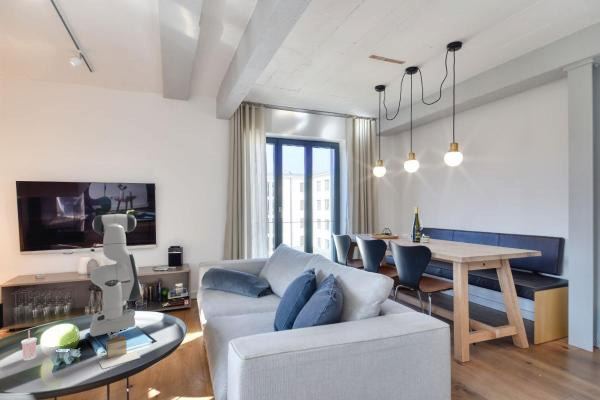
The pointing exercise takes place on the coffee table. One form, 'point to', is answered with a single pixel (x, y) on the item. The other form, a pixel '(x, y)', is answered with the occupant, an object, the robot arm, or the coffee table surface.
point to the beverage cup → (29, 347)
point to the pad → (119, 360)
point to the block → (116, 347)
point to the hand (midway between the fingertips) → (113, 339)
